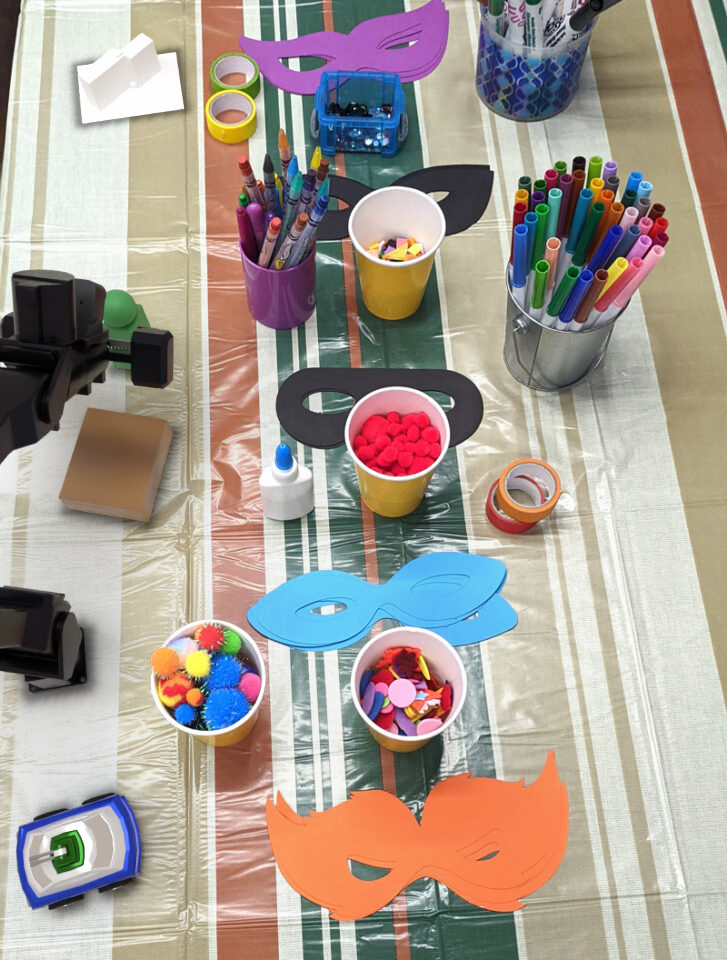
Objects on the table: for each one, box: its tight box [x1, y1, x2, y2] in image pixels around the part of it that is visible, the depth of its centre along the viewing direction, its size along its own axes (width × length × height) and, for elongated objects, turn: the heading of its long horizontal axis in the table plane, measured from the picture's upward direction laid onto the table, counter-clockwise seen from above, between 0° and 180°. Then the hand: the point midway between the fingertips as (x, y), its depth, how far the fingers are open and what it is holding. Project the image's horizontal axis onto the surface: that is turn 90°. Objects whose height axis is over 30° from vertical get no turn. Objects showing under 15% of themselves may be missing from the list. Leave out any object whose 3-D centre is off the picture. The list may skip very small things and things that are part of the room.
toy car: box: [15, 792, 143, 911], centre depth 89 cm, size 9×12×10 cm
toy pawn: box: [103, 288, 152, 371], centre depth 109 cm, size 5×5×13 cm
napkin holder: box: [76, 32, 185, 125], centre depth 128 cm, size 15×11×6 cm
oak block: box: [58, 406, 174, 523], centre depth 107 cm, size 12×10×4 cm
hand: (114, 331), depth 105 cm, fingers open, 9 cm apart
